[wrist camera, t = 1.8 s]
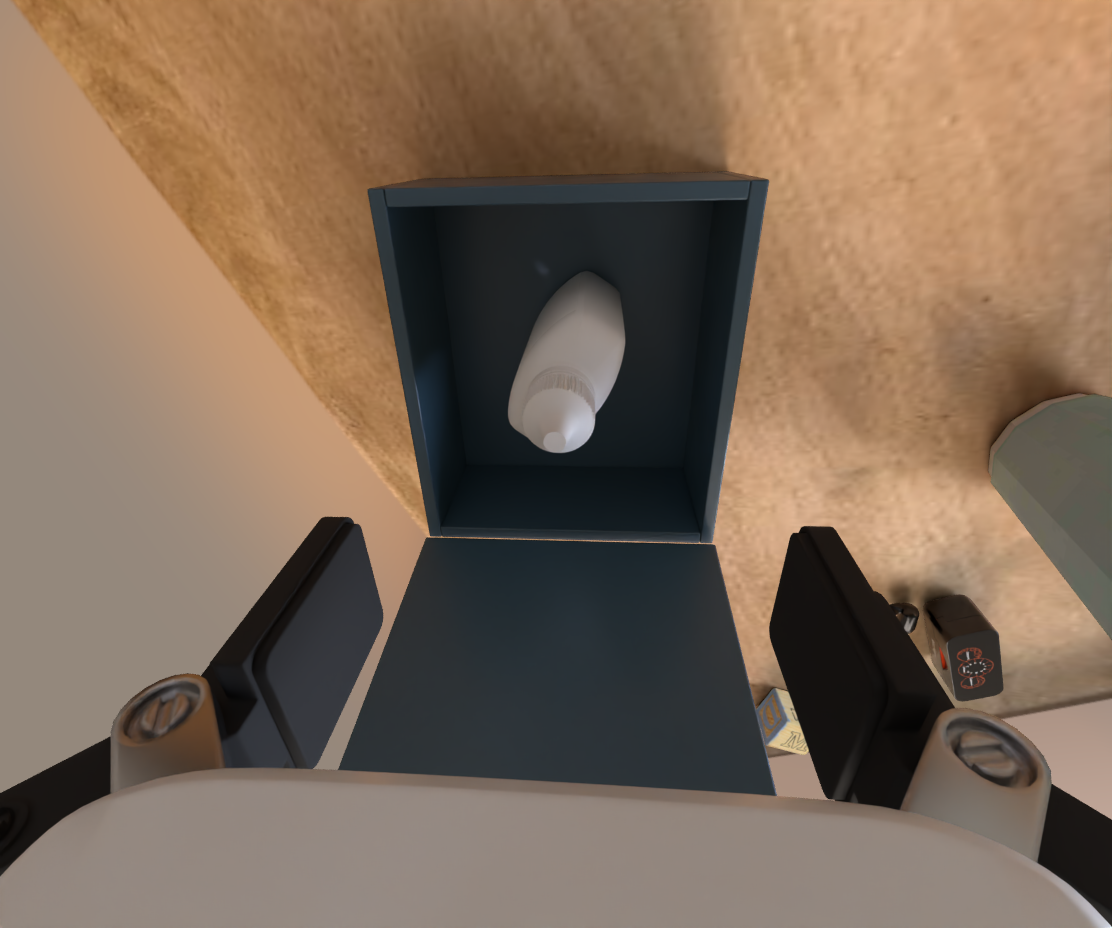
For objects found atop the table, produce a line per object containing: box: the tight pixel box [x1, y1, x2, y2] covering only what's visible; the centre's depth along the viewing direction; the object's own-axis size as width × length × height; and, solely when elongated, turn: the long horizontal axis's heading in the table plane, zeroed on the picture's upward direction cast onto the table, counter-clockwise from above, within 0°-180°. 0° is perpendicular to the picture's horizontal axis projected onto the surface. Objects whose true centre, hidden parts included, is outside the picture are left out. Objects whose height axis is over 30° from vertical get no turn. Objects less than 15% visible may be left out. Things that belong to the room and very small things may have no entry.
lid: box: [338, 537, 777, 796], centre depth 20 cm, size 16×14×5 cm
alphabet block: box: [756, 688, 809, 755], centre depth 39 cm, size 3×3×3 cm
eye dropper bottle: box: [508, 271, 625, 453], centre depth 21 cm, size 4×6×12 cm
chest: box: [368, 171, 769, 543], centre depth 25 cm, size 15×14×7 cm
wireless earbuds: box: [890, 595, 1003, 701], centre depth 34 cm, size 5×7×3 cm, turn 25°
